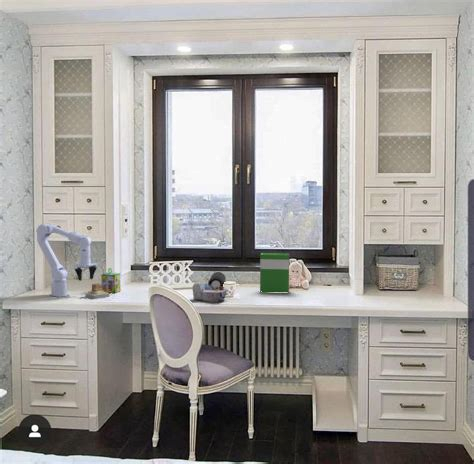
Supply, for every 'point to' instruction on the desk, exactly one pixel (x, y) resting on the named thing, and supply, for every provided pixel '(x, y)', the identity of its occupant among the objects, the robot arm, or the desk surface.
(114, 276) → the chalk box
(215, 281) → the portable speaker
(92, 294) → the dock
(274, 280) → the hardback book
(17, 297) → the desk surface
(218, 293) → the cell model
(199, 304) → the desk surface
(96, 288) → the tan cardboard carton
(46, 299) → the desk surface
